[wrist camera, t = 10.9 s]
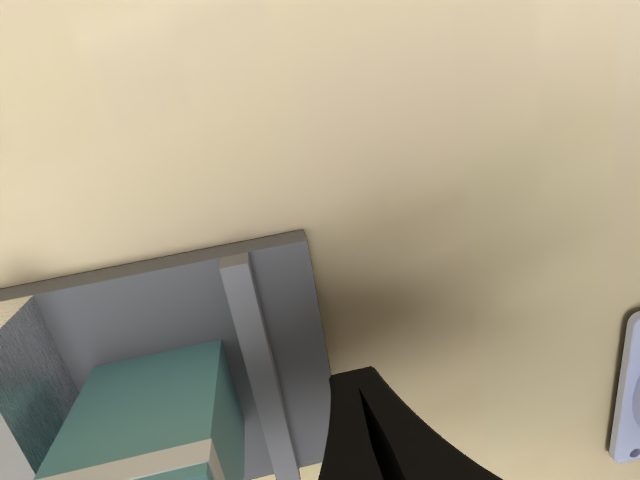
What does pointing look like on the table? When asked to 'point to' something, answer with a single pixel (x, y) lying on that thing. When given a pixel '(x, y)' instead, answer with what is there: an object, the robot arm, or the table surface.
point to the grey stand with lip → (212, 333)
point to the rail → (29, 389)
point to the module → (153, 421)
